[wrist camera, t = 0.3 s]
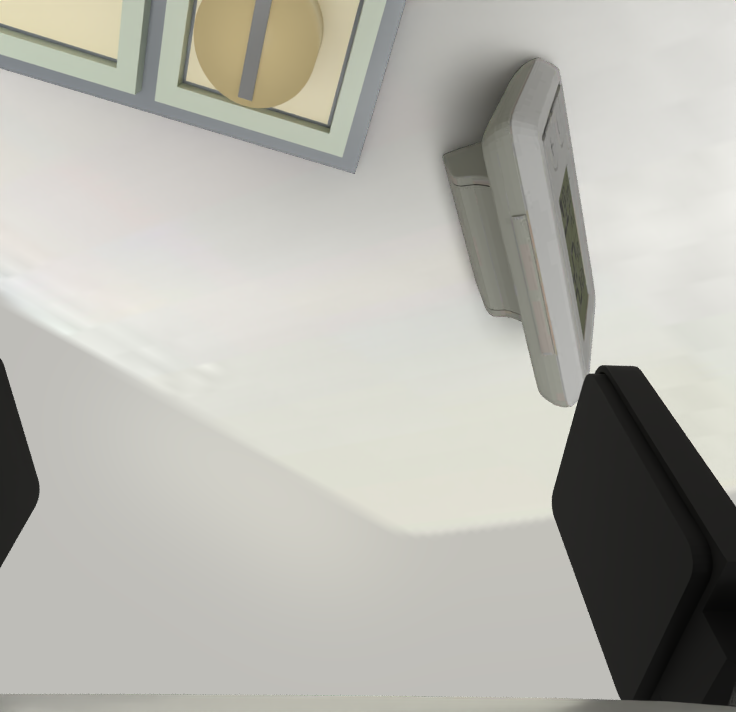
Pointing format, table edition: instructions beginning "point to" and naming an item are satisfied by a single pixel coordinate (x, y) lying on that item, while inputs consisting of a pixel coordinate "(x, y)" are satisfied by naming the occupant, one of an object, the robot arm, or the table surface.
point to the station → (219, 63)
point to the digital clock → (530, 228)
